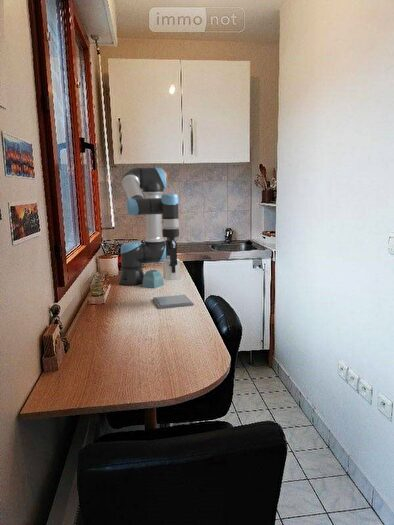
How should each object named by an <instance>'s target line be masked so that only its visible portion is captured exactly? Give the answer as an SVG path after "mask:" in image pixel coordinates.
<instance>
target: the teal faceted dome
mask: <svg viewBox="0 0 394 525" xmlns="http://www.w3.org/2000/svg"><path fill="white" fill-rule="evenodd" d="M162 286H164V277H163V275H162V273H161V272H160V270H157V269H150V270H147V271H145V273H144V277H143V283H142V288H146V289H152V290H153V289H157V288H159V287H162Z"/></svg>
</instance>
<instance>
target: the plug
mask: <svg viewBox="0 0 394 525" xmlns="http://www.w3.org/2000/svg"><path fill="white" fill-rule="evenodd" d="M169 265H170V256H167V259H163V262H162V270H163V275H162V278H163V280H165V281H171V280H170V266H169ZM176 280H177V281H179V280H181V260H180V259H179V258H178V257H177V265H176ZM176 280H175V281H176Z"/></svg>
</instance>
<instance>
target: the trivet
mask: <svg viewBox="0 0 394 525" xmlns="http://www.w3.org/2000/svg"><path fill="white" fill-rule="evenodd" d="M152 301H153V302H154V304H155V305H156V307H157V308H158V309H159V310H160V309H161V310H163V309H171V308H181V307H183V308H184V307H191V306H194V302H193V301H192V300H191V299H190V298H189V297H187V295H186V294H177V295H166V296H155V297H152Z"/></svg>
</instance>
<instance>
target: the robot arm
mask: <svg viewBox="0 0 394 525" xmlns="http://www.w3.org/2000/svg"><path fill="white" fill-rule="evenodd" d="M120 182H121V186H122V188H123V190H125V193H126V196H127V199H126V201H125V210H126V214H127V215H129V216H143V215H145V216H146V238H145V239H144V242H143V243H142V242H141V241H140V240H136V241H131V242H130V241H129V242H125V243H122V244H121V246H120V260H121V270H120V274H119V278H118V279H119V280H118V282H119V284H120V285H125V286H135V285H141V284H142V285H143V277H144V275H145V273H144V271H143V264H160V263H163V259H167V256H170V265H169V266H170V280H169V281H176V265H177V258H178V248H177V247H178V243H177V241H176V238H178V237H179V236H180V229H179V227H180V219H179V217H180V216H179V195H178V194H177V193H164V190H166V189H167V177H166V173H165V171H164V169H163V168H161V167H132V168H130V169H129V170H127V171H126V172H125V173H123V175H122V177H121V181H120ZM143 194H144V195H145V197H144V195H143ZM164 238H166V239H164Z"/></svg>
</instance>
